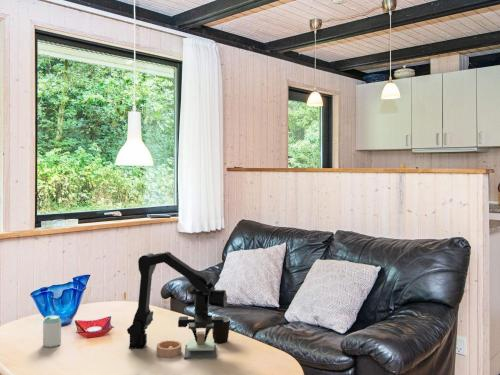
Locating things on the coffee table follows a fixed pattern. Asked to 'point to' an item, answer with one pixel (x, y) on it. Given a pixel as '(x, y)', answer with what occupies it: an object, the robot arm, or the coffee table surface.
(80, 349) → the coffee table surface
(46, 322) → the can
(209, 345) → the lid
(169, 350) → the bowl
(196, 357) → the mat
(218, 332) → the coffee mug
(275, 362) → the coffee table surface
